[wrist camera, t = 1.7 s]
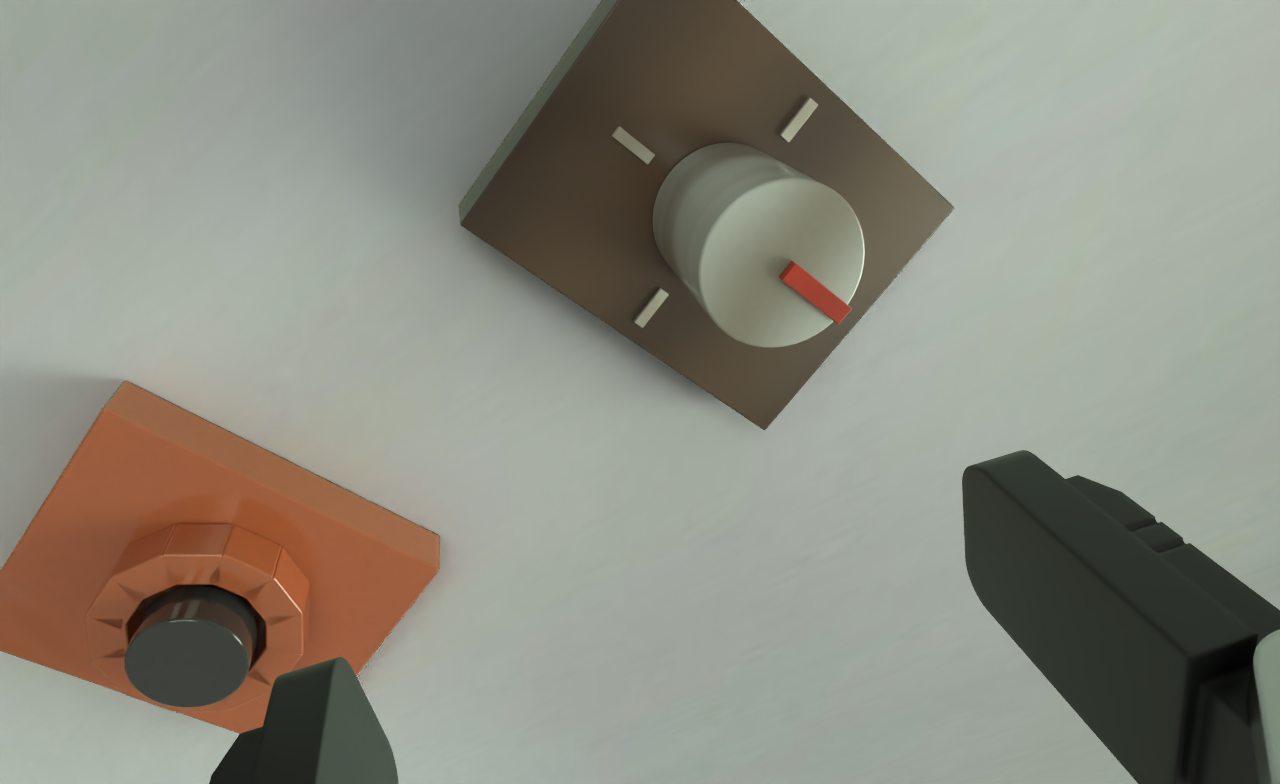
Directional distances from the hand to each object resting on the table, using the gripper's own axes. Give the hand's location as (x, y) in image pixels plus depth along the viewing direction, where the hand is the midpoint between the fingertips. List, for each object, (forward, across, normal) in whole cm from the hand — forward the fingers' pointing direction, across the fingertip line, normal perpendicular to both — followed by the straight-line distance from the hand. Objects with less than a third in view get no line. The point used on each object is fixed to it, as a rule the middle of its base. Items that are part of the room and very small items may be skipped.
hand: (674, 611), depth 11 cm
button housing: (+20, +14, +9) cm, 26 cm away
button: (+17, +14, +9) cm, 24 cm away
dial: (+18, -6, +1) cm, 19 cm away
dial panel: (+20, -6, +1) cm, 21 cm away
